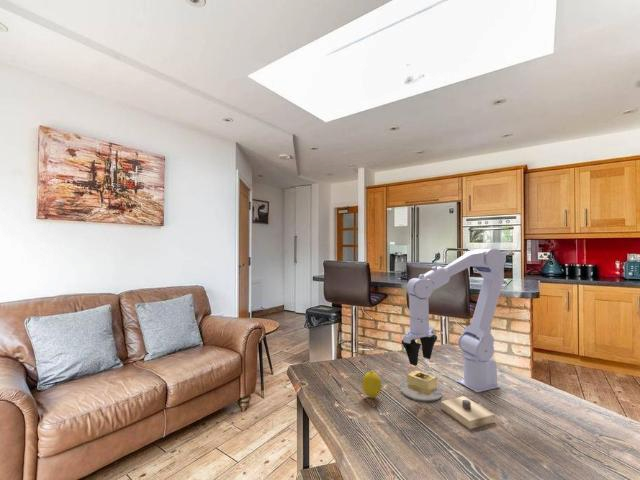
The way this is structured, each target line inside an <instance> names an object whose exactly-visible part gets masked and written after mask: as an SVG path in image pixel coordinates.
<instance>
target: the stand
mask: <svg viewBox="0 0 640 480" xmlns="http://www.w3.org/2000/svg"><path fill="white" fill-rule="evenodd" d="M440 407H441V410H443V412H446V413H447V414H448V415H449V416H451V417H452V418H454V419H455V420H457V422H459V423H461V424H462V425H464V426H465V427H466V428H468V429H469V430H473V429H475V428H479V427H482V426H483V427H484V426H485V425H489V424H493V423H495V413H493V412H491V411H490V410H488V409H486V408H484V407H483V406H481V405H479V404H478V403H476V402H474V401H473V400H472V399H470V398H468V397H467V396H465V395H464V396H463V395H462V396H459V397H454V398H449V399H446V400H441V401H440Z"/></svg>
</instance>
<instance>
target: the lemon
mask: <svg viewBox="0 0 640 480" xmlns="http://www.w3.org/2000/svg"><path fill="white" fill-rule="evenodd" d="M381 390H382V382H381V378H380V376H379V375H378V374H377V373H376V372H374V371H372V370H370V371H369V372H367V373H365V374H364V375H363V377H362V391H363V392H364V394H365V395H366V396H367V397H369V398H370V399H373V398H376V397H378V395H380V393H381Z"/></svg>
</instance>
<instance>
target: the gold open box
mask: <svg viewBox="0 0 640 480" xmlns="http://www.w3.org/2000/svg"><path fill="white" fill-rule="evenodd" d="M419 377H422V378H424V379H422V378H419ZM406 378H407V380H406V381H407V382H408V388H410V389H413V390H415V391H418V392H420V393H423V394H425V395H428V396H429V395H430V394H432V393H433V392H435V391H437V386H438V382H437V381H438V380H437V376H434V375H432V374H428V373H426V372H423V371H420V370H417V369H415V370H413V371H411V372H410V373H408V374H407V377H406Z"/></svg>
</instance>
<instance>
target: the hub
mask: <svg viewBox="0 0 640 480" xmlns="http://www.w3.org/2000/svg"><path fill="white" fill-rule="evenodd" d="M419 378H422V377H419ZM422 379H424V378H422ZM400 391H401V393H402V394H403V396H405V397H407V398H409V399H411V400H414V401H418V402H426V403H429V402H436V401H438V400H440V399H441V398H442V396H443V391H442V388H441V387H440V386H439V385H437V391H435V392H433V393H432V394H430V395H429V396H428V395H425V394H423V393H420V392H418V391H415V390H413V389H410V388H408V382H407V380H405V381H404V382H402V383H401V384H400Z"/></svg>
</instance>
